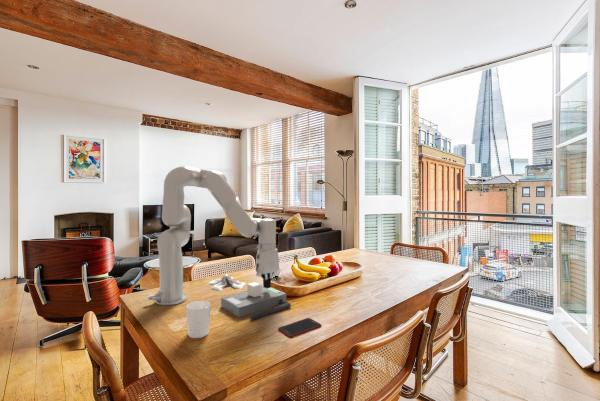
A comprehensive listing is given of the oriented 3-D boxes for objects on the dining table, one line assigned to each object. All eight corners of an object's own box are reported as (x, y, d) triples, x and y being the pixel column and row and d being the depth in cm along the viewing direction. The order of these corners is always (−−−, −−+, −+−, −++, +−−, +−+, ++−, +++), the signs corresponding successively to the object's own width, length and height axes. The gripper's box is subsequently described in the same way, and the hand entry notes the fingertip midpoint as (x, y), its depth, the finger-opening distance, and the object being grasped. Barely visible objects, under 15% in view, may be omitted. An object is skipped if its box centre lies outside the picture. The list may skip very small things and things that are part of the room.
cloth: (250, 288, 151) (250, 276, 151) (213, 294, 142) (213, 281, 142) (238, 276, 171) (238, 266, 171) (204, 281, 162) (204, 270, 162)
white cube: (253, 297, 126) (254, 286, 125) (247, 294, 129) (247, 283, 129) (261, 295, 128) (261, 284, 128) (255, 292, 132) (255, 282, 132)
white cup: (190, 328, 106) (190, 300, 106) (212, 328, 107) (212, 300, 107) (183, 339, 98) (183, 309, 98) (207, 339, 99) (207, 309, 99)
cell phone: (277, 330, 106) (277, 328, 106) (308, 319, 115) (308, 317, 115) (290, 339, 100) (290, 336, 100) (322, 327, 109) (322, 324, 109)
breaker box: (238, 317, 116) (238, 307, 115) (221, 306, 126) (221, 297, 126) (286, 302, 132) (286, 293, 132) (267, 293, 142) (267, 285, 142)
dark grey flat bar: (251, 321, 113) (251, 316, 113) (242, 315, 117) (242, 310, 117) (291, 307, 126) (291, 302, 126) (282, 303, 131) (282, 298, 131)
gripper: (258, 250, 125) (257, 293, 125) (285, 245, 135) (285, 286, 136) (248, 247, 130) (247, 289, 131) (275, 243, 140) (274, 282, 141)
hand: (266, 287), depth 133 cm, fingers closed
